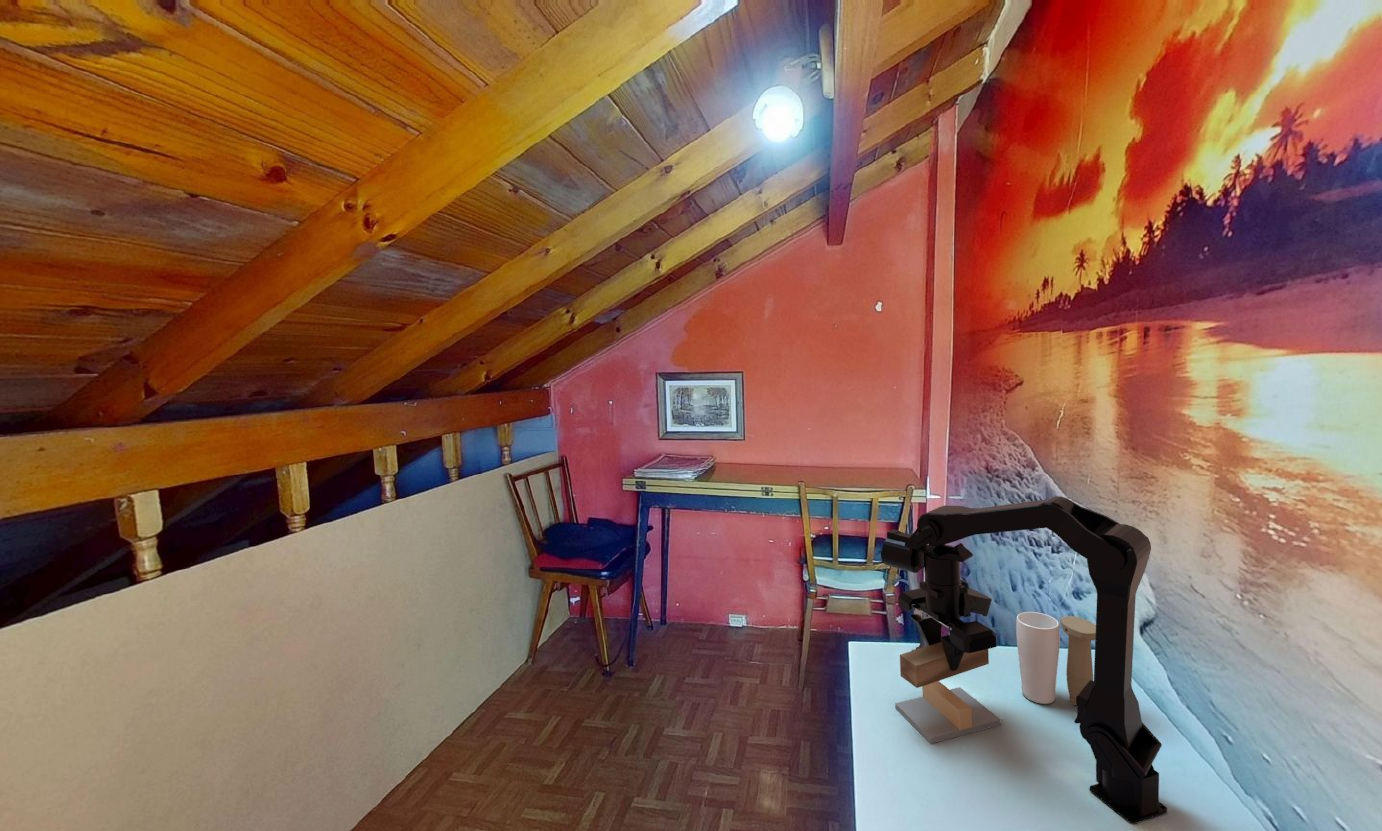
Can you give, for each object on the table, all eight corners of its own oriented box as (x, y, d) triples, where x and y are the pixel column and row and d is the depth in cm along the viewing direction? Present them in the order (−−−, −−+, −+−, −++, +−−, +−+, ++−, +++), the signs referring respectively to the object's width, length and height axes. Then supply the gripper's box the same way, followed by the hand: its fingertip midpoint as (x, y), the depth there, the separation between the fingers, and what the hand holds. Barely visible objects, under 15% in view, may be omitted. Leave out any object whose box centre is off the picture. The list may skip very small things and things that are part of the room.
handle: (1079, 691, 104) (1079, 614, 103) (1106, 713, 98) (1106, 632, 96) (1054, 693, 104) (1054, 617, 102) (1079, 715, 98) (1079, 634, 96)
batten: (988, 663, 100) (988, 642, 100) (916, 688, 95) (916, 665, 94) (970, 653, 104) (970, 632, 103) (900, 676, 98) (899, 654, 98)
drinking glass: (1058, 712, 99) (1058, 632, 97) (1014, 700, 103) (1013, 623, 101) (1061, 692, 104) (1061, 616, 103) (1019, 681, 108) (1018, 608, 107)
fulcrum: (1000, 724, 97) (1000, 700, 97) (930, 743, 94) (929, 718, 93) (960, 692, 107) (959, 669, 106) (895, 708, 104) (894, 685, 103)
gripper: (1024, 591, 90) (1025, 682, 92) (945, 554, 108) (948, 630, 110) (965, 604, 88) (967, 697, 89) (895, 563, 106) (898, 641, 107)
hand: (945, 663), depth 99 cm, fingers closed on batten, 4 cm apart
